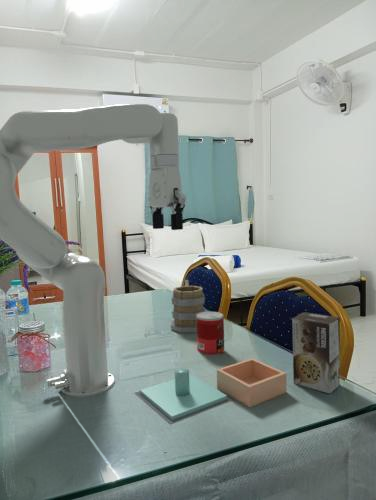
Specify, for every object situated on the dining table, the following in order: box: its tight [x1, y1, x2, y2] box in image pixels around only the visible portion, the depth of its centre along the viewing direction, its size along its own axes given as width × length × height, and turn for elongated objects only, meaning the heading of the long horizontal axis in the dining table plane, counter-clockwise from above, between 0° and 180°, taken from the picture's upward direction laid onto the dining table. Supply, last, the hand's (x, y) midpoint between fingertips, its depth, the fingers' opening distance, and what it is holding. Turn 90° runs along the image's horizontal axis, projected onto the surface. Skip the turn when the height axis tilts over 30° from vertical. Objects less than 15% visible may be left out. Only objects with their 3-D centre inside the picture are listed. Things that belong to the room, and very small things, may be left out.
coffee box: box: [292, 311, 341, 394], centre depth 91 cm, size 9×6×16 cm
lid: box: [139, 367, 228, 420], centre depth 86 cm, size 14×14×6 cm
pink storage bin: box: [216, 357, 287, 409], centre depth 88 cm, size 11×11×5 cm
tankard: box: [170, 279, 207, 334], centre depth 141 cm, size 20×13×15 cm, turn 179°
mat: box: [134, 381, 234, 425], centre depth 86 cm, size 16×16×1 cm
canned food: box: [196, 311, 225, 355], centre depth 114 cm, size 8×8×11 cm
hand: (167, 229), depth 103 cm, fingers open, 9 cm apart
